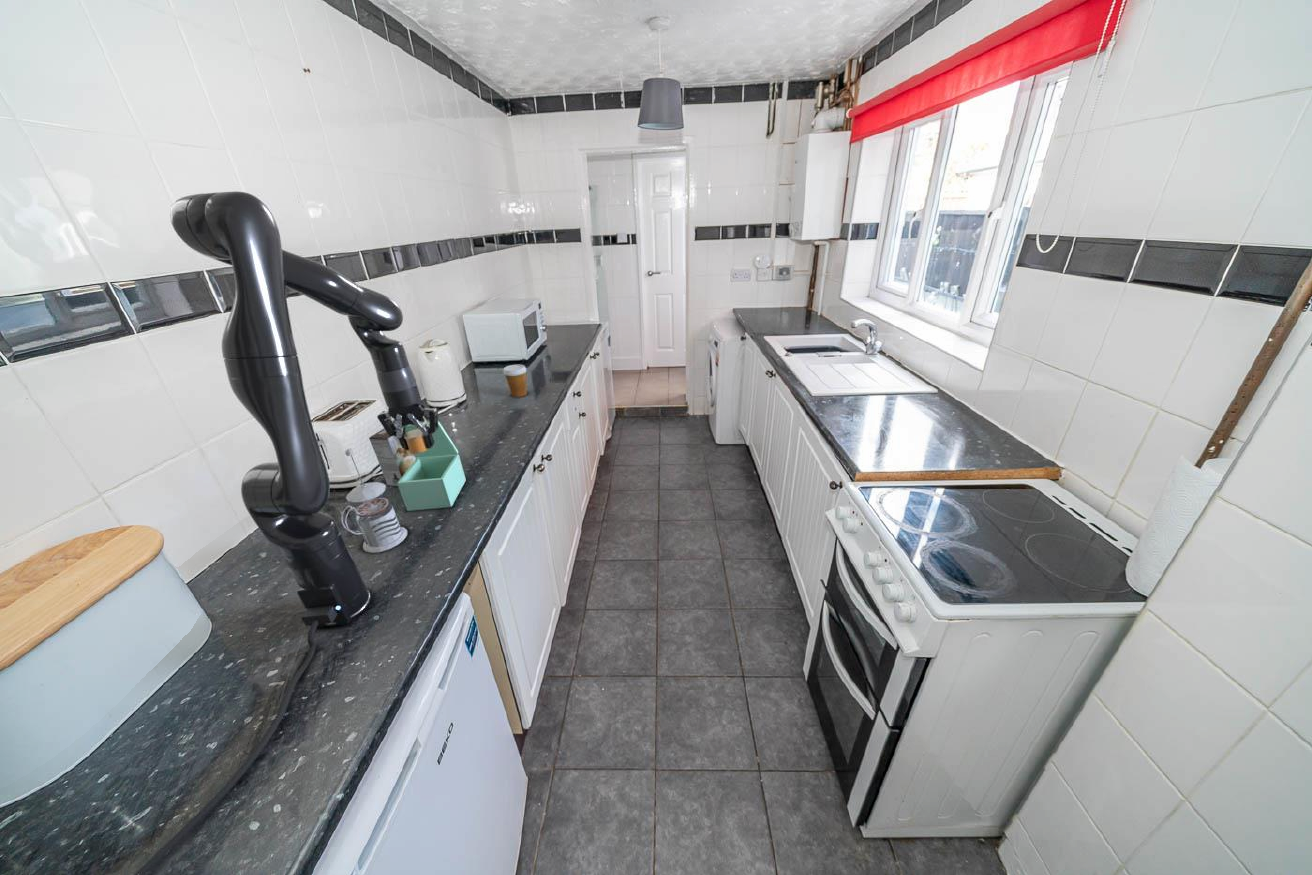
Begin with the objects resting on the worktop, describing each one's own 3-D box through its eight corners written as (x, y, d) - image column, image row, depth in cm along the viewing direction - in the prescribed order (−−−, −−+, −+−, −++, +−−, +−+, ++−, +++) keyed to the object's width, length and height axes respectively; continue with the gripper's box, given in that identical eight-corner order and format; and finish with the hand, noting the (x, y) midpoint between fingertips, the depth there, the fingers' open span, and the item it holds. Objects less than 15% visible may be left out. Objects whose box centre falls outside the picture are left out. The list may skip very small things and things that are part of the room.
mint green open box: (451, 506, 122) (442, 479, 118) (407, 510, 121) (397, 483, 117) (466, 480, 134) (458, 454, 130) (425, 483, 133) (417, 457, 129)
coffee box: (407, 469, 141) (391, 423, 134) (425, 471, 140) (410, 424, 132) (386, 485, 133) (368, 437, 126) (405, 487, 132) (387, 438, 124)
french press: (416, 533, 112) (383, 444, 101) (369, 562, 103) (328, 468, 92) (392, 522, 117) (358, 435, 105) (346, 549, 108) (304, 458, 97)
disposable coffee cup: (506, 393, 198) (501, 366, 192) (528, 388, 201) (523, 362, 196) (510, 400, 190) (504, 372, 184) (532, 395, 193) (527, 368, 188)
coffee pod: (426, 453, 113) (420, 437, 111) (405, 454, 113) (400, 438, 111) (433, 443, 118) (428, 428, 116) (413, 445, 117) (408, 429, 115)
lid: (438, 423, 117) (441, 406, 121) (392, 427, 117) (397, 410, 120) (458, 453, 129) (461, 437, 132) (416, 457, 129) (420, 441, 132)
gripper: (359, 393, 104) (383, 457, 111) (423, 388, 104) (443, 452, 112) (375, 382, 110) (396, 443, 118) (434, 377, 111) (452, 439, 119)
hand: (419, 447), depth 115 cm, fingers closed on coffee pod, 5 cm apart
